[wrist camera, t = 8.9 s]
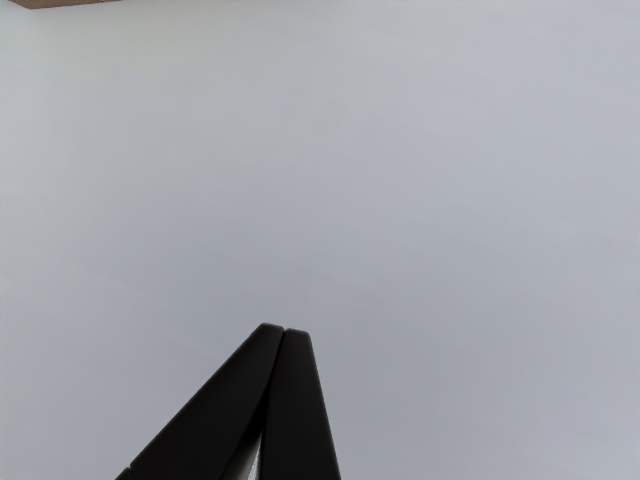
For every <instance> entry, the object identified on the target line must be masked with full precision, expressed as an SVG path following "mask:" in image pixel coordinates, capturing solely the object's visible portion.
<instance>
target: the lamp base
mask: <svg viewBox="0 0 640 480" xmlns="http://www.w3.org/2000/svg"><path fill="white" fill-rule="evenodd" d="M9 1H12V2H14V3H16V4H18V5H21V6H23V7H25V8H28V9H38V8H48V7H58V6H68V5H78V4H89V3H99V2H109V1H119V0H9Z"/></svg>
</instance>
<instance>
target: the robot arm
mask: <svg viewBox="0 0 640 480" xmlns="http://www.w3.org/2000/svg"><path fill="white" fill-rule="evenodd" d="M260 441H261V442H260ZM259 444H260V448H259ZM258 448H259V455H258V462H257V470H256V478H255V480H341V476H340V472H339V467H338V463H337V458H336V453H335V449H334V444H333V440H332V435H331V430H330V426H329V421H328V417H327V412H326V408H325V403H324V398H323V394H322V389H321V385H320V380H319V375H318V371H317V366H316V362H315V357H314V353H313V348H312V343H311V339H310V335H309V334H308V333H307V332H305V331H300V330H296V329H291V328H288V329H286V330H284V328H283V327H282V326H278V325H273V324H269V323H262V324H261V325H259V326H258V327H257V328H256V329H255V330H254V332H253V333H252V334H251V335H250V336H249V337H248V338H247V339H246V340H245V341H244V342H243V343H242V344H241V345H240V347H239V348H238V349H237V350H236V351H235V352H234V353H233V354H232V355H231V356H230V357H229V358H228V359H227V360H226V362H225V363H224V364H223V365H222V366H221V367H220V368H219V369H218V370H217V371H216V372H215V373H214V374H213V375H212V376H211V378H210V379H209V380H208V381H207V382H206V383H205V384H204V385H203V386H202V387H201V388H200V389H199V390H198V391H197V393H196V394H195V395H194V396H193V397H192V398H191V399H190V400H189V401H188V402H187V403H186V404H185V405H184V406H183V408H182V409H181V410H180V411H179V412H178V413H177V414H176V415H175V416H174V417H173V418H172V419H171V420H170V421H169V423H168V424H167V425H166V426H165V427H164V428H163V429H162V430H161V431H160V432H159V433H158V434H157V435H156V436H155V438H154V439H153V440H152V441H151V442H150V443H149V444H148V445H147V446H146V447H145V448H144V449H143V450H142V451H141V452H140V454H139V455H138V456H137V457H136V458H135V459H134V460H133V461H132V462H131V463H130V468H129V467H127V468H125V469H124V470H123V471H122V473H121V474H120V475H119V476H118V477H117V478H116V479H115V480H247V479H248V476H249V474H250V471H251V468H252V466H253V463H254V460H255V457H256V454H257V451H258Z"/></svg>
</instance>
